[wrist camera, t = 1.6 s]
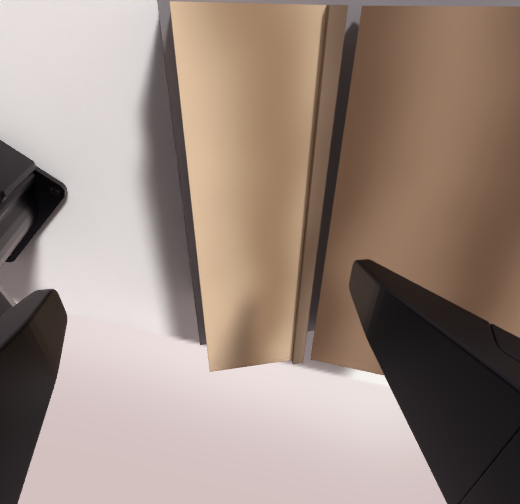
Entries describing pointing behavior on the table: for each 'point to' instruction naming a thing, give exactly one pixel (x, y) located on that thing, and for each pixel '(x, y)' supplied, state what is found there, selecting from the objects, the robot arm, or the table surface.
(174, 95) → the underlay block
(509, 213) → the walnut plank
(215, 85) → the oak panel
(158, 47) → the table surface
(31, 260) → the table surface
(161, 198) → the table surface
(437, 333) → the robot arm
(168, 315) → the table surface
